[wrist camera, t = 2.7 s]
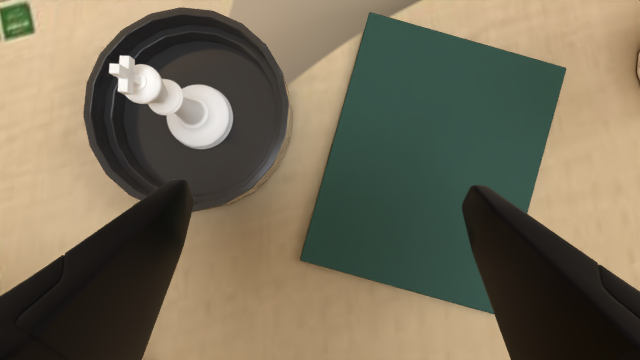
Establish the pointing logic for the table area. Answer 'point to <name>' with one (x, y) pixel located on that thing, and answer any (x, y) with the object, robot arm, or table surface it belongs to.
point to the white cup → (639, 68)
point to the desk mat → (427, 156)
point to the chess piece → (177, 103)
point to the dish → (184, 69)
